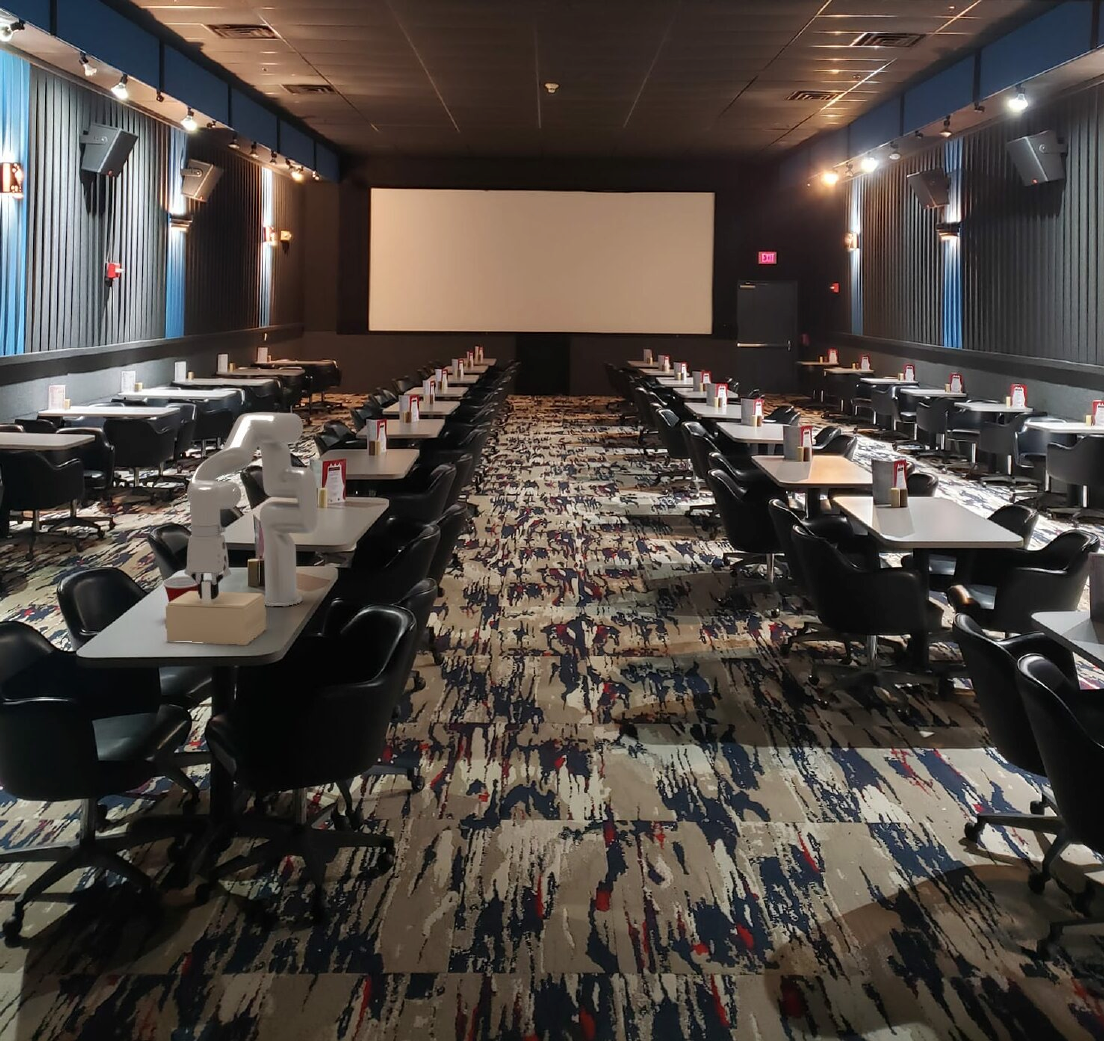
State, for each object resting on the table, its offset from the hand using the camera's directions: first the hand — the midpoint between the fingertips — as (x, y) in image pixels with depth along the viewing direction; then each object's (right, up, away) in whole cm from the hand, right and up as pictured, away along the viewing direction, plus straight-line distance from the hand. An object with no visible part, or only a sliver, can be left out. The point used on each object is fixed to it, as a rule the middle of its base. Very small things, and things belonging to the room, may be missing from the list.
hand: (208, 597), depth 318 cm
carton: (0, -11, +7) cm, 13 cm away
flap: (+1, -1, +5) cm, 6 cm away
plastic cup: (-14, -8, +23) cm, 29 cm away
